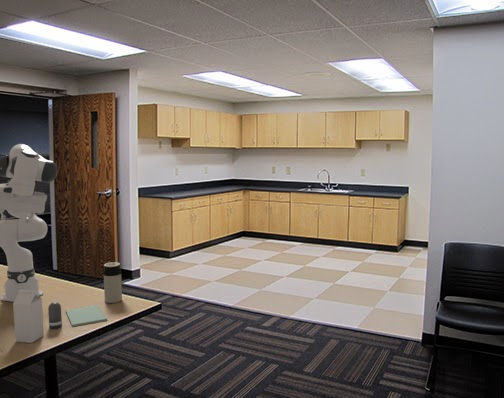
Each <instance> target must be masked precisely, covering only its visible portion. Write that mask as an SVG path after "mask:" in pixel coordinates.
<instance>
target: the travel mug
mask: <svg viewBox="0 0 504 398" xmlns="http://www.w3.org/2000/svg"><path fill="white" fill-rule="evenodd" d="M103 266H104V270H103V287H104V289H103V290H104V302H105V303H106V304H107V303H108V304H116V303H119V302H121V301H122V300H123V289H122V288H123V287H122V286H123V285H122V268H120V266H121V263H120V262H117V261H116V262H115V261H114V262H112V261H111V262H106V263H104V264H103Z"/></svg>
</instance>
